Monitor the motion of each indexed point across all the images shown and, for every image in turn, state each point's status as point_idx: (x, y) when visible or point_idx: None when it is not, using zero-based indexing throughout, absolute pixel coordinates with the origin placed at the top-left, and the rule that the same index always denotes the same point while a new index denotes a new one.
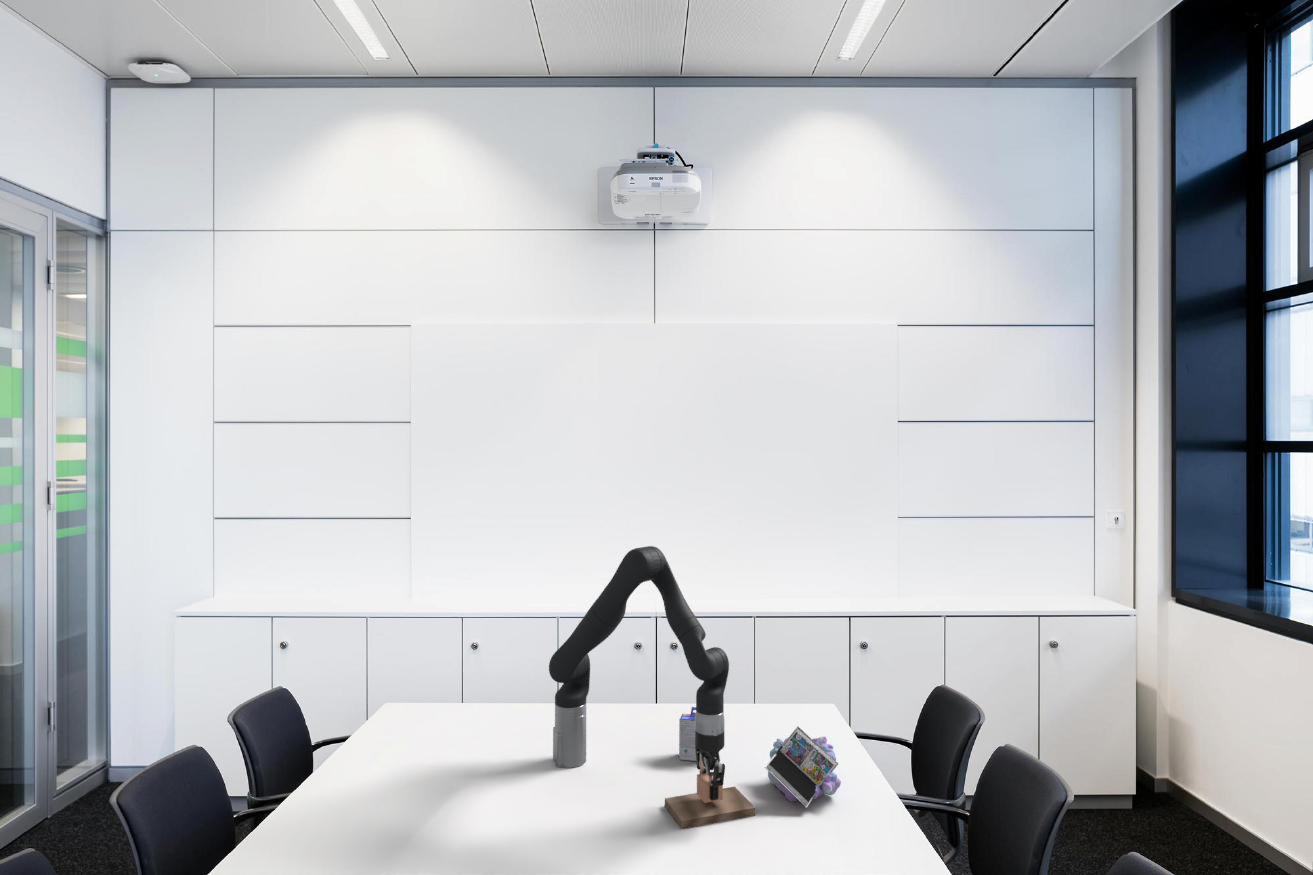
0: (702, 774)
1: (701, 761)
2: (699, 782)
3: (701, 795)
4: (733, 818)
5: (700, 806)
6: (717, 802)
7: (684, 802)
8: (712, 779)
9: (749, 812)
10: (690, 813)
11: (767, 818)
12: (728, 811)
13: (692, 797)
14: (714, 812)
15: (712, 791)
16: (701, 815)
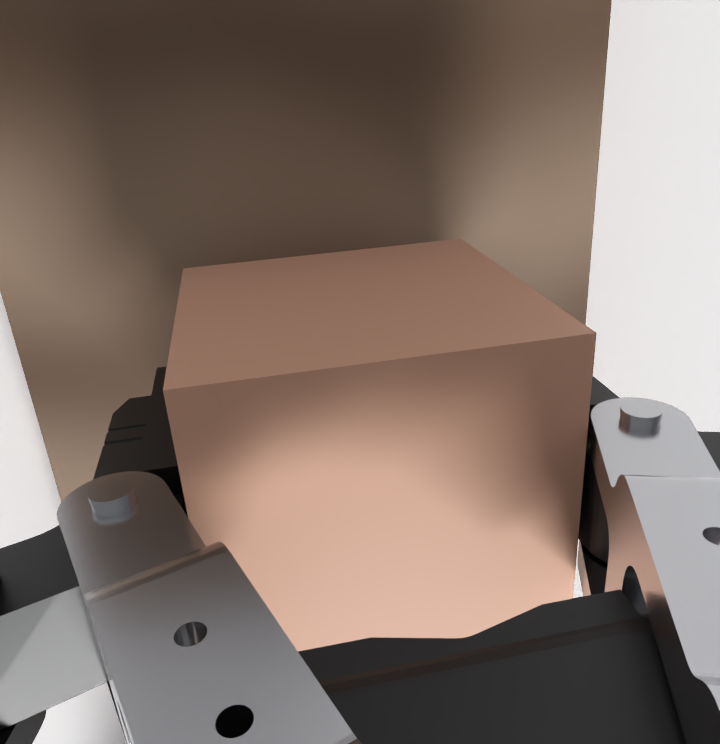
0: (549, 438)
1: (695, 632)
2: (424, 314)
3: (303, 270)
4: None
5: (267, 217)
6: None
7: (423, 31)
8: (80, 599)
9: None
10: (91, 6)
11: (71, 738)
12: None
13: (508, 185)
14: (81, 343)
15: (125, 450)
16: (17, 154)
